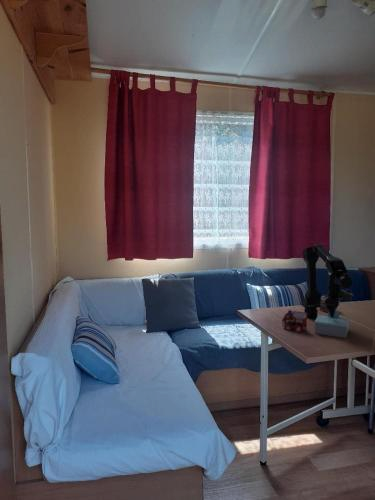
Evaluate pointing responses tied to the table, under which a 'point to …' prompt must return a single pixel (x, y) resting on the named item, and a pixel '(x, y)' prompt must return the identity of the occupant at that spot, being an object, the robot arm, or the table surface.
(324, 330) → the tub
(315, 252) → the robot arm
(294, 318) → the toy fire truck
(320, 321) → the lid
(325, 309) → the cupcake
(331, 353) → the table surface
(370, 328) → the table surface
